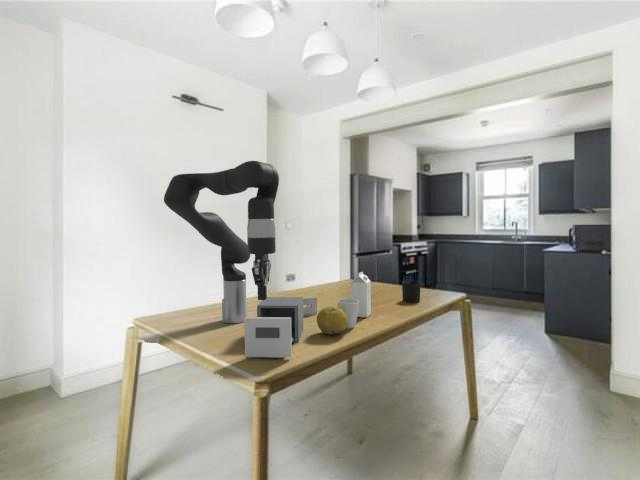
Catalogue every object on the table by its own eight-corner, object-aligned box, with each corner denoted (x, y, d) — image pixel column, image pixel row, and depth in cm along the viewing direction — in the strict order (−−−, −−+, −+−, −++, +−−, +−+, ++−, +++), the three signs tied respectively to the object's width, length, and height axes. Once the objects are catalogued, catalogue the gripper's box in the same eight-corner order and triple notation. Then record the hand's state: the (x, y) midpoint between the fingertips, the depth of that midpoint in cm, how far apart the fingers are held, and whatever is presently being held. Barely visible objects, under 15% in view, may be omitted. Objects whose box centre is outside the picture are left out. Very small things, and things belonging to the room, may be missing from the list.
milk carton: (350, 316, 153) (350, 273, 153) (355, 313, 160) (355, 271, 159) (366, 318, 151) (366, 273, 150) (370, 314, 157) (370, 271, 157)
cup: (360, 324, 140) (360, 299, 140) (355, 330, 132) (355, 303, 132) (340, 323, 143) (340, 298, 142) (335, 328, 135) (334, 302, 135)
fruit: (324, 340, 120) (324, 311, 120) (311, 331, 131) (311, 305, 131) (353, 336, 125) (353, 308, 125) (338, 328, 136) (338, 302, 135)
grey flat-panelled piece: (244, 357, 103) (244, 318, 103) (257, 340, 119) (256, 307, 118) (291, 357, 102) (290, 318, 102) (297, 341, 118) (297, 307, 117)
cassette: (316, 313, 160) (315, 296, 160) (317, 314, 158) (317, 297, 158) (290, 316, 155) (290, 299, 155) (292, 317, 154) (291, 299, 153)
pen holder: (417, 303, 179) (417, 283, 179) (399, 301, 184) (399, 282, 184) (422, 300, 187) (422, 281, 187) (405, 298, 192) (405, 280, 192)
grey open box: (257, 341, 120) (257, 305, 120) (267, 329, 135) (266, 297, 135) (298, 342, 119) (298, 305, 119) (303, 329, 134) (303, 297, 134)
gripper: (270, 236, 89) (271, 304, 90) (279, 235, 103) (280, 295, 103) (240, 236, 90) (242, 304, 90) (253, 235, 103) (254, 295, 103)
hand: (262, 299), depth 97 cm, fingers closed
